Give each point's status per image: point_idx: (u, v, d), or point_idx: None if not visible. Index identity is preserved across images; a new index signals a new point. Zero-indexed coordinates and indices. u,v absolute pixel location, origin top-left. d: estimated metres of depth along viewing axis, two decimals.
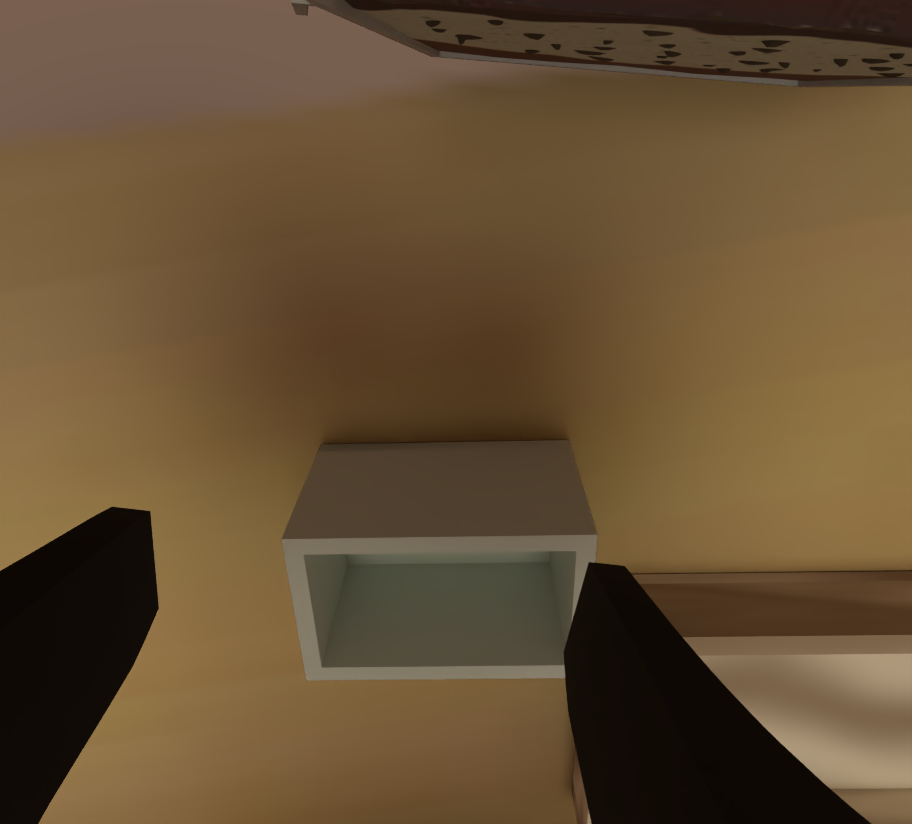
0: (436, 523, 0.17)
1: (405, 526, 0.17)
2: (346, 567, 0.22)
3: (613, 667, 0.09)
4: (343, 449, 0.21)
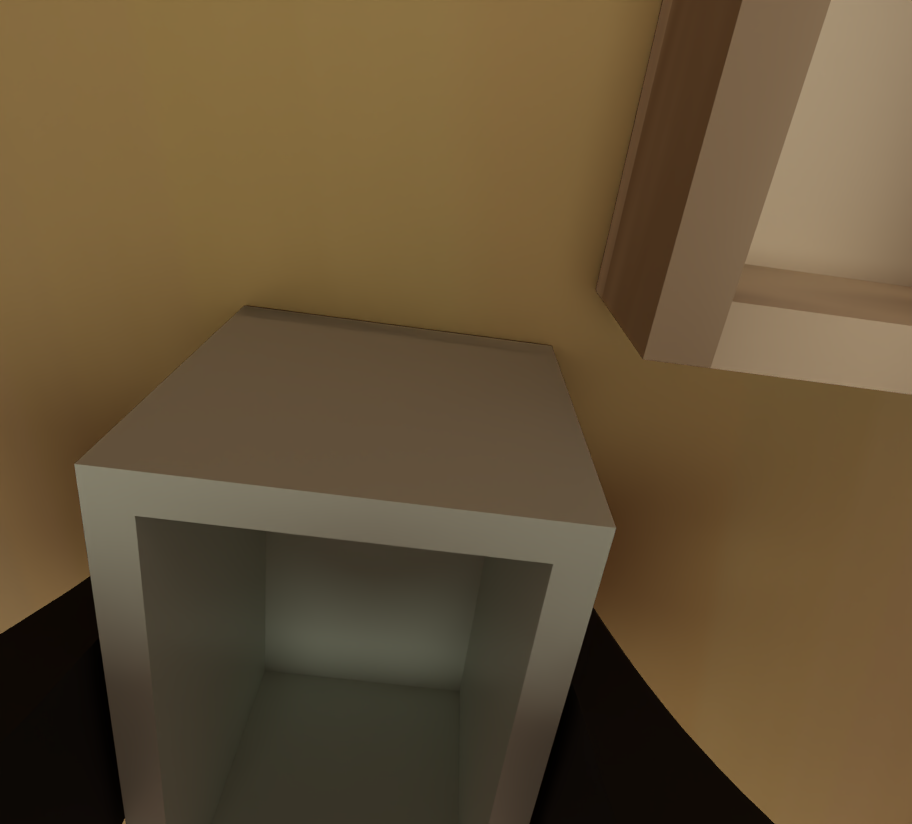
0: None
1: None
2: (456, 699, 0.13)
3: None
4: None
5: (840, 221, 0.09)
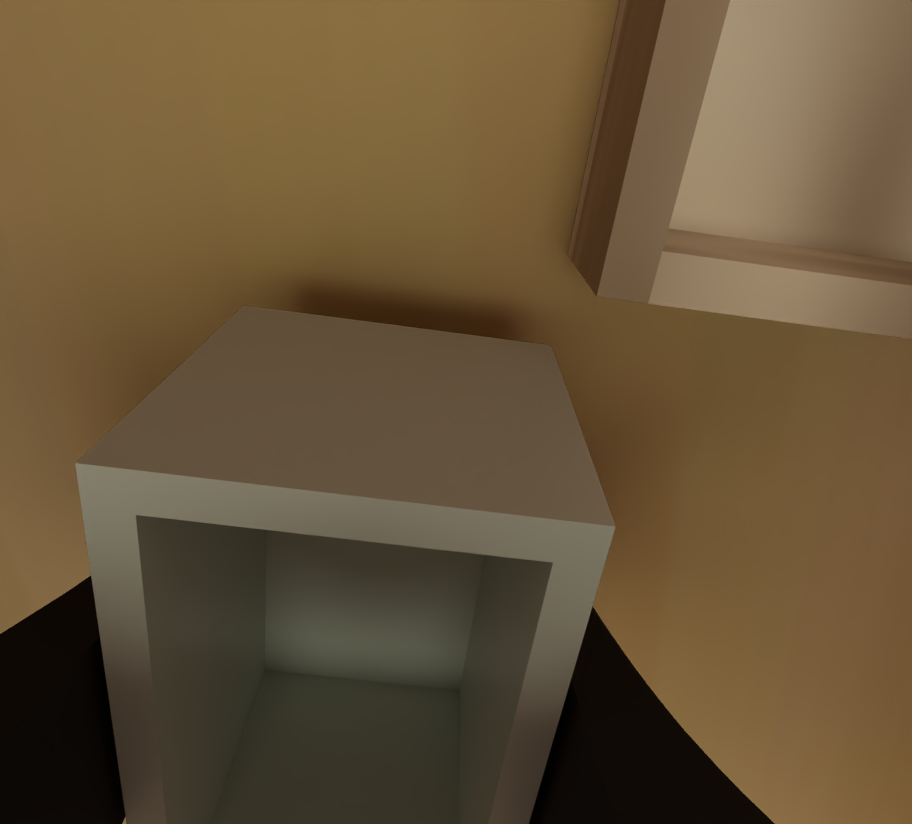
0: None
1: None
2: (456, 698, 0.13)
3: None
4: None
5: (759, 196, 0.12)
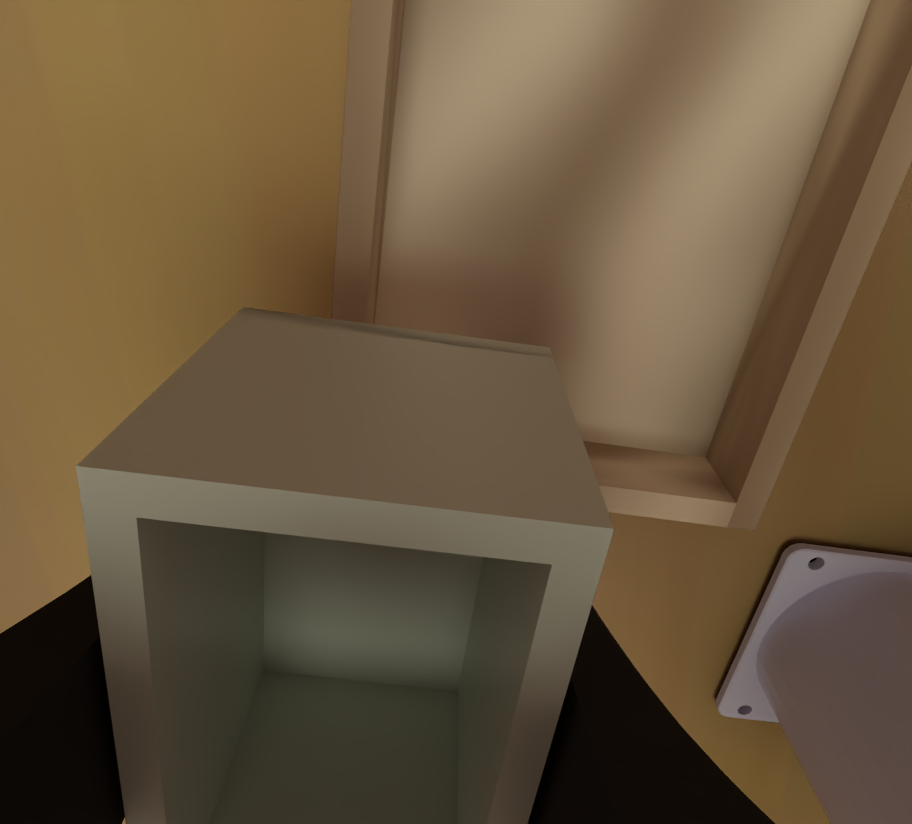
0: None
1: None
2: (454, 699, 0.13)
3: None
4: None
5: None
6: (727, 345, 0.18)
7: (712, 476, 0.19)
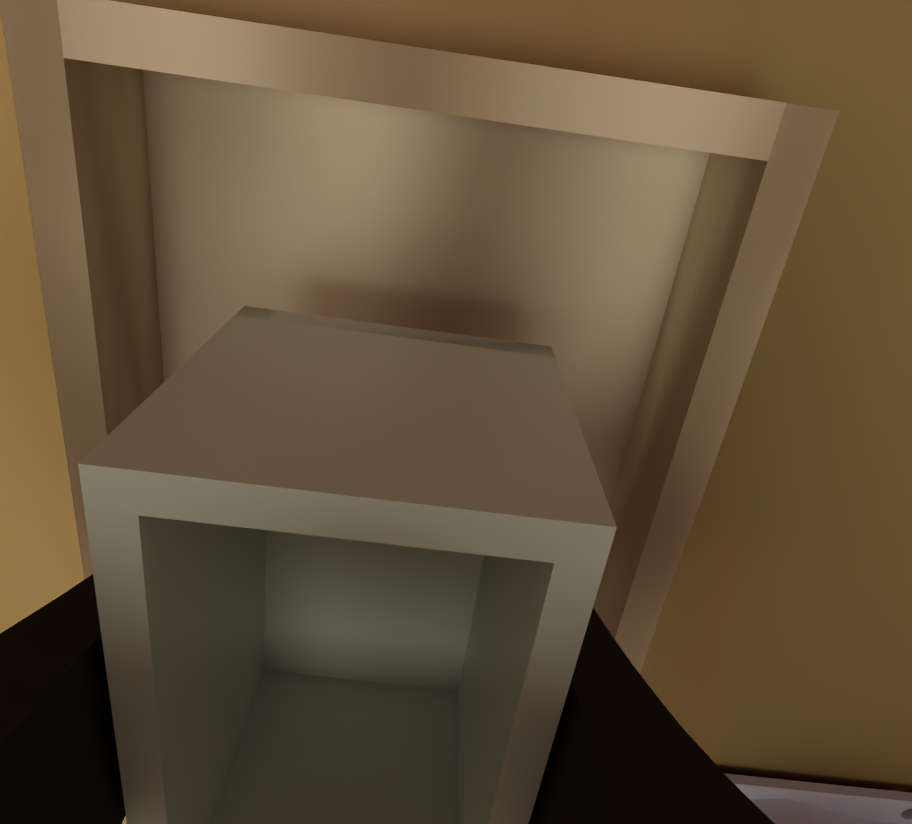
0: None
1: None
2: (455, 698, 0.13)
3: None
4: None
5: None
6: None
7: None
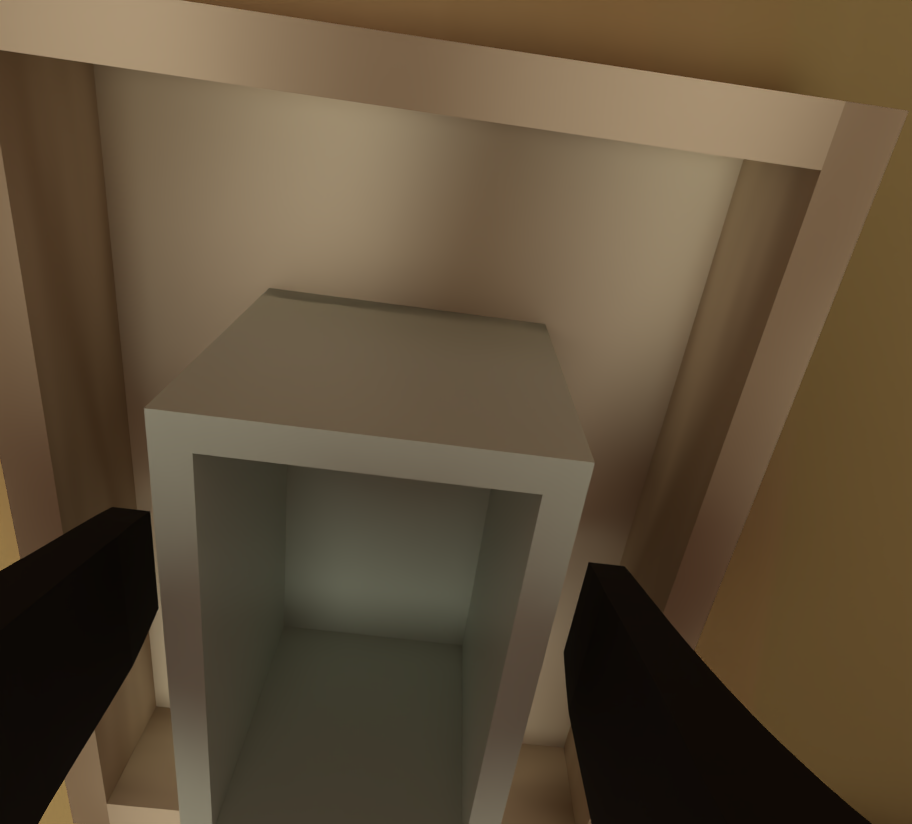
0: None
1: None
2: (459, 652, 0.14)
3: (613, 666, 0.09)
4: None
5: None
6: None
7: (562, 790, 0.16)
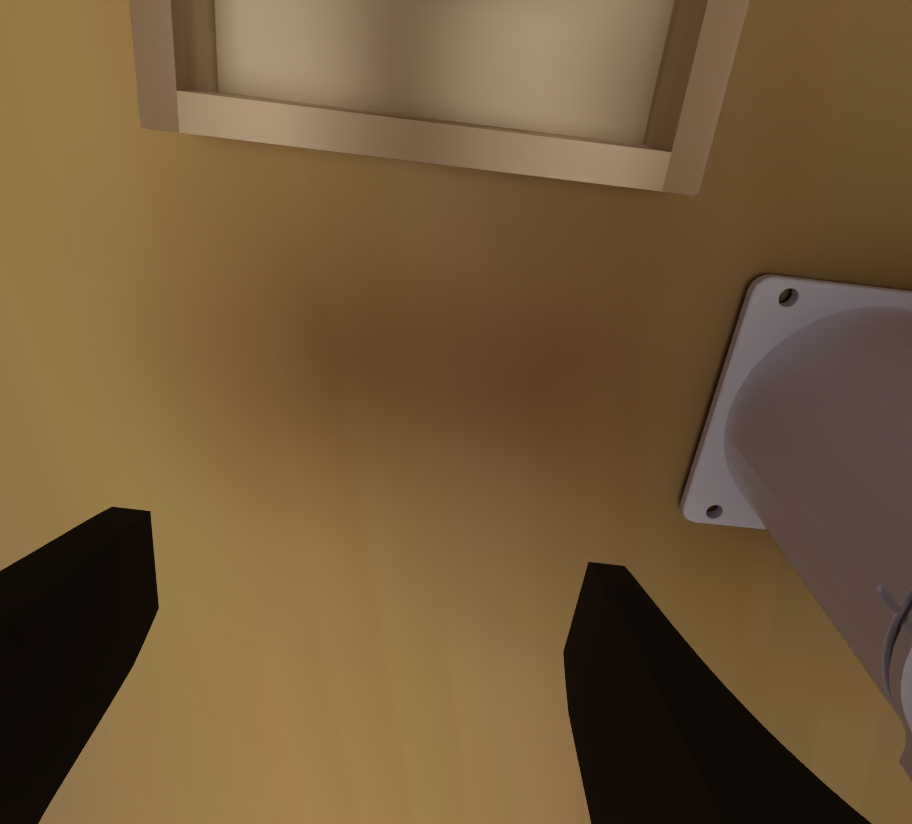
0: None
1: None
2: None
3: (613, 666, 0.09)
4: None
5: (313, 68, 0.15)
6: None
7: (646, 147, 0.15)
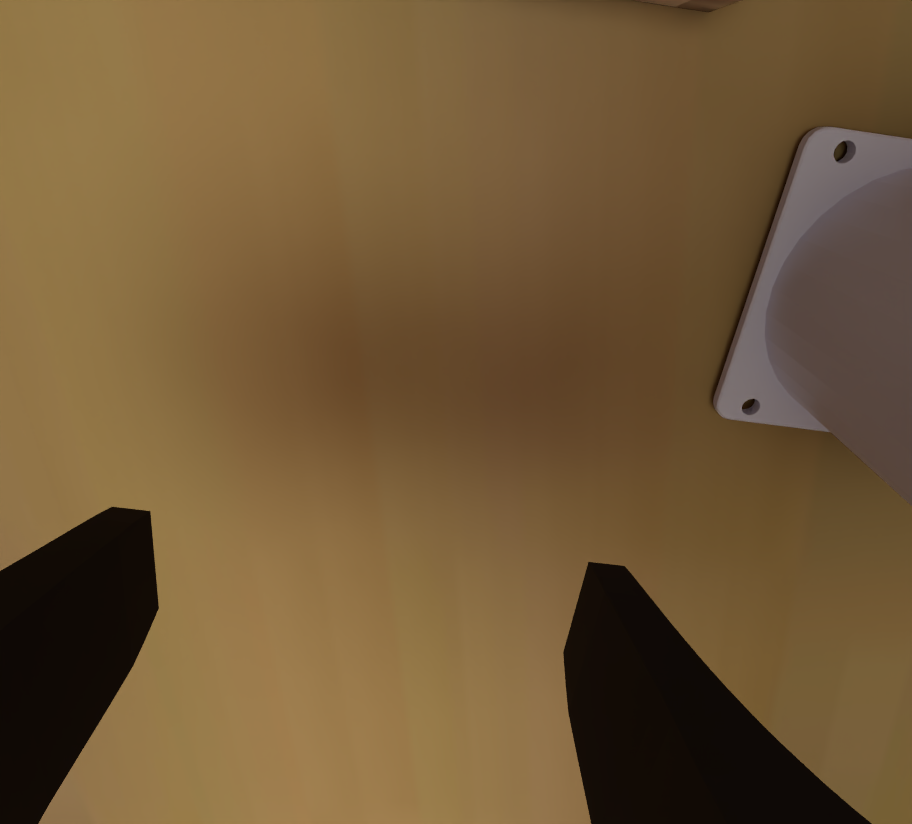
0: None
1: None
2: None
3: (613, 666, 0.09)
4: None
5: None
6: None
7: None
